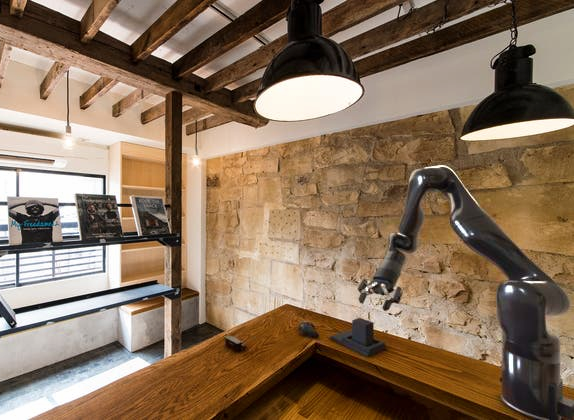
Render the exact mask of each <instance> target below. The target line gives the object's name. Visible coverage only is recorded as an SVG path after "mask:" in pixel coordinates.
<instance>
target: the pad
mask: <svg viewBox="0 0 574 420" xmlns="http://www.w3.org/2000/svg"><path fill="white" fill-rule="evenodd" d="M330 340H331V341H334V342H335V343H337V344H340V345H342V346H344V347H346V348H347V349H350V350H352V351H355V352H356V353H359V354H360V355H363V356H365V357H367V358H369V357H371V356H373V355H375V354H377V353H379V352H381V351H383V350H386V349H387V344H386V342H385V341H382V340H379V339H378V338H375V337H373V344H372V345H370V346H368V347H366V346H364V345H362V344H359V343H357V342H355V341H353V340H352V329H346V330H343V331H342V332H338V333H335V334H333V335H331V336H330Z"/></svg>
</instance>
